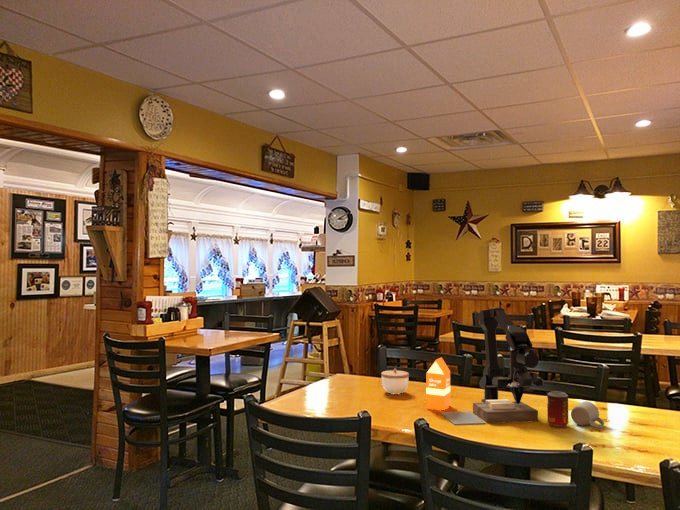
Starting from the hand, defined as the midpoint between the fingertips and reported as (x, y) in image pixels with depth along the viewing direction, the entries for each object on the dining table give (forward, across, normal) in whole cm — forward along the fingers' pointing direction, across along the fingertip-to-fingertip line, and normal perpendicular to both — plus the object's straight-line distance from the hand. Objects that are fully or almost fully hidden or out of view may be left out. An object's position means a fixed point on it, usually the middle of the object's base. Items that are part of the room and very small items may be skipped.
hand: (517, 403), depth 208 cm
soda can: (+5, +8, -14) cm, 17 cm away
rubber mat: (+5, -22, 0) cm, 23 cm away
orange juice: (+5, -26, +17) cm, 32 cm away
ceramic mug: (+5, +21, -13) cm, 25 cm away
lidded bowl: (+5, -38, +44) cm, 59 cm away
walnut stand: (+5, -5, 0) cm, 7 cm away
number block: (+1, -7, 0) cm, 7 cm away
